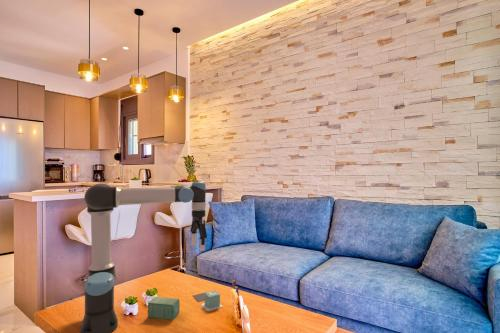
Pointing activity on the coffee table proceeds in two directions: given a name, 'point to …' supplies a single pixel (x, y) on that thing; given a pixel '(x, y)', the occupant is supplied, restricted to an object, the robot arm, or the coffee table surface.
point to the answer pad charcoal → (200, 297)
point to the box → (163, 308)
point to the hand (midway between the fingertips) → (198, 247)
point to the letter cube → (212, 299)
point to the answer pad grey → (210, 308)
